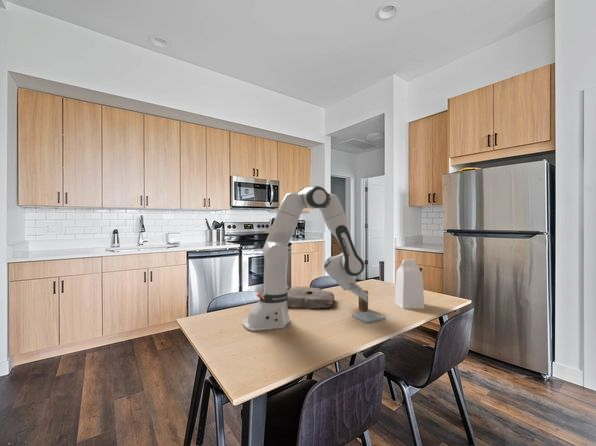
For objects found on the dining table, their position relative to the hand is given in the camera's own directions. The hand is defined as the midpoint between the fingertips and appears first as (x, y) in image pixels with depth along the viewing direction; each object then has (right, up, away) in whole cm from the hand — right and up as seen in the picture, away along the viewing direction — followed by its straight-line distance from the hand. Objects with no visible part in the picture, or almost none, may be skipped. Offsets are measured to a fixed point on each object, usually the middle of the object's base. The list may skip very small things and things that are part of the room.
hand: (364, 298), depth 150 cm
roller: (-1, -6, 0) cm, 6 cm away
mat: (-1, -6, -13) cm, 14 cm away
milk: (+27, -6, +7) cm, 29 cm away
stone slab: (-30, -6, +17) cm, 35 cm away
